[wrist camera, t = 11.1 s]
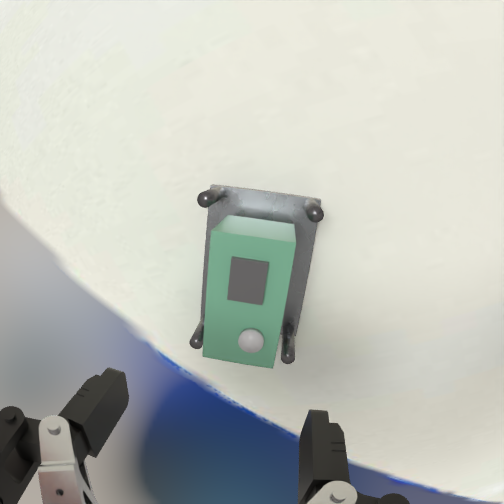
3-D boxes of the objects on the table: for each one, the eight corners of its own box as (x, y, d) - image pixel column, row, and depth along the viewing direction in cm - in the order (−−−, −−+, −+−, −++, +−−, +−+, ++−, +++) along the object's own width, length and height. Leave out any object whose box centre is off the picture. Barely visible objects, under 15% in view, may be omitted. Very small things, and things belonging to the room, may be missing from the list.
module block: (228, 214, 26) (209, 232, 20) (294, 224, 25) (296, 245, 19) (218, 320, 29) (200, 360, 22) (276, 329, 28) (272, 373, 22)
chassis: (213, 184, 29) (194, 190, 23) (319, 198, 28) (328, 208, 22) (202, 316, 33) (186, 347, 27) (295, 331, 32) (296, 365, 26)
